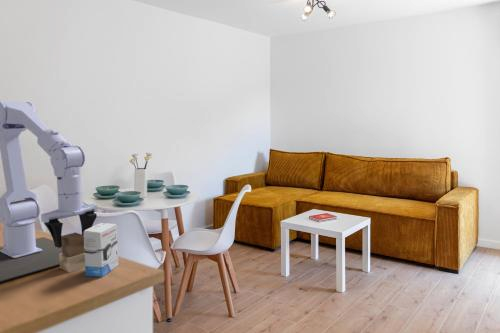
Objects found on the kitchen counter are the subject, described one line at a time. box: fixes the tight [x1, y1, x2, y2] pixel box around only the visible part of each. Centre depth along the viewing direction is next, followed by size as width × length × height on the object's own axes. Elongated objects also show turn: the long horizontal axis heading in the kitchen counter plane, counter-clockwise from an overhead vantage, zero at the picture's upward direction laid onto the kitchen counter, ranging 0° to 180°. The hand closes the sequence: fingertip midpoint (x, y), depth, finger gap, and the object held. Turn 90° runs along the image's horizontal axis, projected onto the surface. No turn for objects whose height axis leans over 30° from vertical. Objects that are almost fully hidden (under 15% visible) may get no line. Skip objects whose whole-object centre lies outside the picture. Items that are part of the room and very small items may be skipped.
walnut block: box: [61, 231, 84, 257], centre depth 106 cm, size 4×4×5 cm
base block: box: [58, 252, 85, 273], centre depth 107 cm, size 5×5×4 cm
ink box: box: [84, 222, 119, 278], centre depth 105 cm, size 8×5×12 cm, turn 168°
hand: (72, 243), depth 106 cm, fingers open, 7 cm apart
